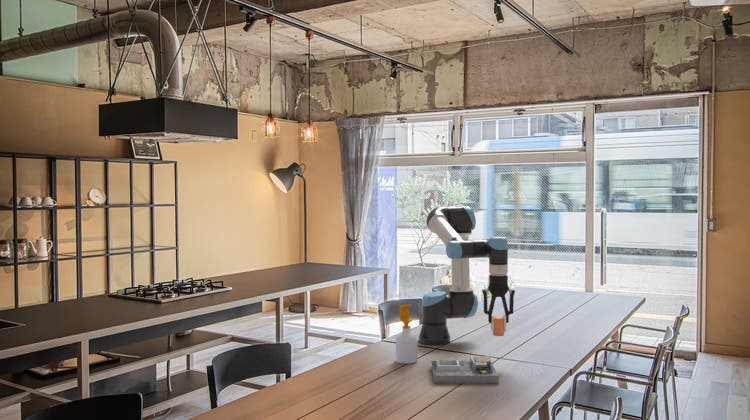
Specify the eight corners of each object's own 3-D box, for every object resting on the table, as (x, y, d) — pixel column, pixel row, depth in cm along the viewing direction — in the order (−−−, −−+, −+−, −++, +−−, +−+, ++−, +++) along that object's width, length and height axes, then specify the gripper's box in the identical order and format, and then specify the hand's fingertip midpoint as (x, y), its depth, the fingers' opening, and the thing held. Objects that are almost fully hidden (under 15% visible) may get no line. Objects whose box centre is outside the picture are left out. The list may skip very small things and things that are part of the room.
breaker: (473, 362, 246) (473, 356, 247) (486, 362, 246) (485, 356, 247) (476, 361, 238) (476, 355, 238) (489, 361, 237) (489, 355, 238)
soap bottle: (399, 365, 257) (399, 306, 256) (393, 359, 265) (392, 302, 264) (420, 363, 259) (419, 305, 258) (413, 357, 268) (412, 301, 267)
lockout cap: (492, 333, 257) (491, 316, 256) (503, 333, 257) (503, 316, 256) (493, 336, 252) (493, 319, 252) (505, 336, 252) (505, 319, 252)
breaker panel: (431, 368, 252) (431, 352, 252) (490, 367, 251) (490, 352, 251) (434, 383, 232) (434, 367, 232) (498, 383, 231) (498, 367, 231)
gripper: (478, 275, 250) (478, 332, 251) (521, 275, 249) (521, 332, 250) (475, 273, 258) (476, 328, 258) (517, 273, 257) (517, 328, 258)
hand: (498, 330), depth 254 cm, fingers closed on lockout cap, 4 cm apart
